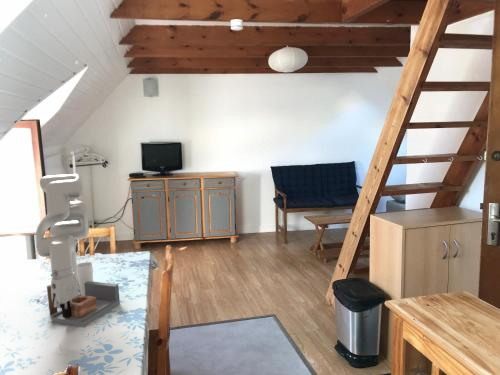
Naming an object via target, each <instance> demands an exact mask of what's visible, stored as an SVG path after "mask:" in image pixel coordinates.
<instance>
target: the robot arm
mask: <svg viewBox="0 0 500 375" xmlns="http://www.w3.org/2000/svg"><path fill="white" fill-rule="evenodd" d="M83 185H84V184H83V180H82V177H81V176H80V174H78V173H73V174H72V173H70V174H56V175H55V174H54V175H45V176H42V177H40V179H39V186H40V188H41V190H42V191H43V192H44V193H45V198H46V199H45V200H46V201H45V202H46V215H45V216H44V217H43V219H41V220H40V222H39V224H38V226H37V229H36V232H35V243H36V244H35V245H36V247H35V248H36V252H37V255H39V256H40V257H42V258H43V257H44V258H46V257H49V259H50V269H51V274H50V276H51V280H50V285H51V298H52V302H53V303H54V307H55V308H57V309H58V308H60V309H61V310H62V316H63V318H70V317H72V311H71V306H72V302H73V300H74V299H75V298H76V297H77V296H78V295H80V287H79V282H78V277H77V268H76V266H77V265H78V262H77V253H76V252H77V251H76V248H77V240H82V239H85V238H88V237H89V234H90V226H89V217H88V216H89V215H88V210H87V205H86V203H85V202H84V201H82V200H76V199H81V198H82V197H83V195H84V187H83ZM70 200H72V201H70ZM47 230H49V231H50V232H49V233H50V236H48V237H45V233H46V232H47Z"/></svg>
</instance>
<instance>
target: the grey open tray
mask: <svg viewBox="0 0 500 375" xmlns="http://www.w3.org/2000/svg"><path fill="white" fill-rule="evenodd" d="M84 286H85V296H94V297H96V303H97V309H95V310H93V311H92V312H90V313H88V314H87V315H85V316H84V317H82V318H80V317H73V316H72V317H70V318H63V316H62V309H60V310H57V311H58V312H56V313H54V314H53V315H51V316H50V318H51V322H52V323H54V324H60V325H68V326H74V327H82V328H86V327H87V326H89V325H91V324H92V323H93V322H95V321H96V320H97V319H99V318H101V317H103V316H104V315H106V314H107V313H109V312H110V311H112V310H113V309H115V308H117V306H119V305H120V304H121V301H120V289H119V284H118V283H107V282H98V281H93V282H91V281H88V282H86V283H84Z"/></svg>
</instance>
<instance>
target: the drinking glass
mask: <svg viewBox="0 0 500 375" xmlns="http://www.w3.org/2000/svg"><path fill="white" fill-rule="evenodd" d="M76 268H77V277H78V282H79V284H78V287H79V293H80V295H85V286H84V283H86V282H88V281H91V282H94V274H93V272H94V271H93V270H94V269H93V263H92V262H88V261H86V262H81V263H77V266H76Z"/></svg>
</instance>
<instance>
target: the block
mask: <svg viewBox="0 0 500 375" xmlns="http://www.w3.org/2000/svg"><path fill="white" fill-rule="evenodd" d="M95 309H97V303H96V297H94V296H85V295H81V294H79V295H78V296H77V297H76V298H75V299H74V300H73V302H72V306H71V311H72V316H73V317H80V318H82V317H84V316H85V315H87V314H88V313H90V312H92V311H93V310H95Z"/></svg>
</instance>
